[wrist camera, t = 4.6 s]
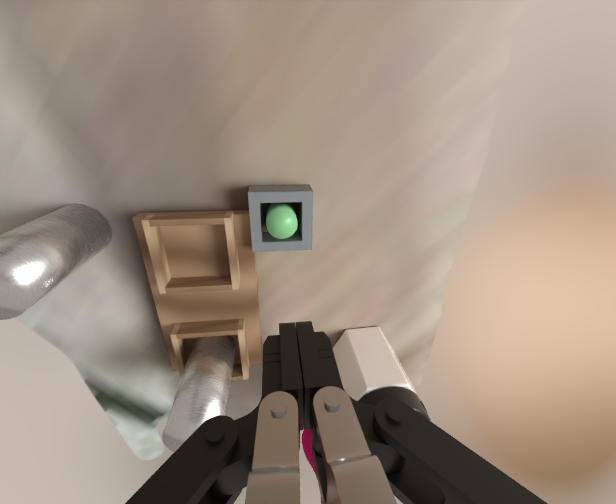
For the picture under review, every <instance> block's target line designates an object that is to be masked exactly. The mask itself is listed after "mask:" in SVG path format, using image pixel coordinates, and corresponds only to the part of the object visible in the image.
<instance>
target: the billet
mask: <svg viewBox="0 0 616 504" xmlns="http://www.w3.org/2000/svg"><path fill="white" fill-rule="evenodd" d="M111 236H112V231H111V227H110V224H109V223H108V221H107V220H106V218H105V217H104V216H103V215H102V214H101V213H100V212H98V211H97V210H95V209H93V208H91V207H89V206H86V205H81V204H71V205H67V206H64V207H62V208H60V209H57V210H55V211H53V212H51V213H48V214H46V215H44V216H42V217H39V218H37V219H35V220H33V221H30V222H28V223H26V224H24V225H21V226H19V227H17V228H14V229H12V230H10V231H8V232H5V233H3V234H1V235H0V320H4V319H10V318H14V317H17V316H18V315H20V314H22V313H23V312H24V311H26V310H27V309H28V308H29V307H31V306H32V305H33V304H34V303H36V302H37V301H38V300H39V299H41V298H42V297H43V296H44V295H46V294H47V293H48V292H49V291H51V290H52V289H53V288H54V287H56V286H57V285H58V284H59V283H61V282H62V281H63V280H64V279H66V278H67V277H68V276H69V275H71V274H72V273H73V272H74V271H76V270H77V269H78V268H79V267H81V266H82V265H83V264H84V263H86V262H87V261H88V260H89V259H91V258H92V257H93V256H94V255H96V254H97V253H98V252H99V251H101V250H102V249H103V248H104V247H106V246H107V245H108V244H109V242H110V240H111Z"/></svg>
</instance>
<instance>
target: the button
mask: <svg viewBox="0 0 616 504" xmlns="http://www.w3.org/2000/svg"><path fill="white" fill-rule="evenodd" d="M297 226H298V222H297V218H296V214H295V210H294V208H293V206H292V205H291V204H290V203H288V202H280V203H272V204H271V205H270V206H269V207H268V209H267V212H266V227H267V230H268V232H269V233H270V234H271V235H272V236H273V237H275V238H279V239H285V238H288V237H290V236H292V235H293V234H294V233H295V231H296V229H297Z"/></svg>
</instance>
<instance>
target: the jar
mask: <svg viewBox="0 0 616 504" xmlns="http://www.w3.org/2000/svg"><path fill="white" fill-rule="evenodd" d="M332 349H333V352H334V356H335V359H336V363H337V367H338V370H339V374H340V378H341V381H342V385H343V388H344V390H345V391H346V393H347V394H348V395H349V396H350V397H351V398H353V399H354V400H356V401H358V402H361V403H366V404H370V405H375V406H376V405H377V404H378V402H379V401H381V400H383V399H386V398H393V399H397V400H400V401H402V402H403V403H405V404H406V405H408V406H409V407H411V408H412V409H414V410H415V411H416V412H418V413H419V414H421V415H422V416H424V417H425V418H426V419H428V420H429V421H430V418H429V416H428V414H427V411H426V409H425V407H424V405H423V403H422V402H421V401H420V399H419V397H418V395H417V393H416V391H415V390H414V388H413V386H412V384H411V382H410V380H409V378H408V376H407V374H406V373H405V371H404V369H403V367H402V365H401V363H400V361H399V359H398V357H397V356H396V354H395V352H394V350H393V348H392V346H391V345H390V343H389V342H388V340H387V338H386V337H385V335H384V334H383V332H382V331H381V329H380V328H379V327H367V328H357V329H347V330H345V332H344V333H343V334H342V336H341V337H340V339H339V340H338V341H337V343H336V344H335V346H334V347H333V348H332Z"/></svg>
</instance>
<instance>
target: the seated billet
mask: <svg viewBox="0 0 616 504" xmlns="http://www.w3.org/2000/svg"><path fill="white" fill-rule="evenodd" d="M235 349H236V343H235V340H234V339H233V337H232V336H231V335H224V336H210V337H196V338H195V340H194V342H193V345H192V348H191V351H190V354H189V357H188V360H187V363H186V366H185V369H184V372H183V375H182V378H181V381H180V384H179V387H178V390H177V393H176V396H175V399H174V402H173V405H172V408H171V411H170V414H169V417H168V420H167V423H166V426H165V429H164V432H163V436H162V439H163V442H164V444H165V445H166V446H167V447H168V448H169V449H170V450H172V451H174V452H175V451H176V450H177V449H178V448H179V447H180V446H181V445H182V444H183V443H184V442H185V441H186V440H187V439H188V438H189V437H190V436H191V435H192V434H193V433H194V432H195V430H196V429H197V428H198V427H199V426H200V425H201V424H202V423H203V422H205V421H206V420H208V419H209V418H211V417H214V416H219V415H224V416H226V412H227V405H228V398H229V391H230V384H231V377H232V370H233V363H234V356H235Z"/></svg>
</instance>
